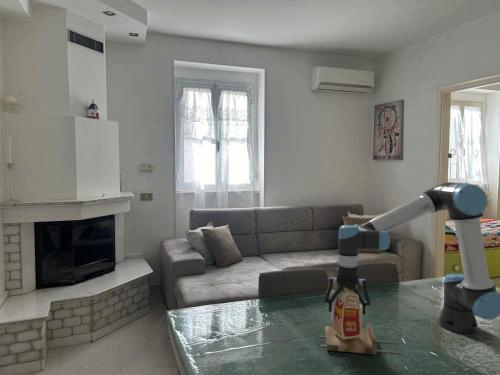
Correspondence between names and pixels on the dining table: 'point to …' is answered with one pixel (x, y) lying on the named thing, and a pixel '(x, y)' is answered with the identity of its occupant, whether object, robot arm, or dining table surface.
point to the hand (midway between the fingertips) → (346, 320)
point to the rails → (377, 350)
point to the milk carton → (347, 314)
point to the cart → (352, 341)
